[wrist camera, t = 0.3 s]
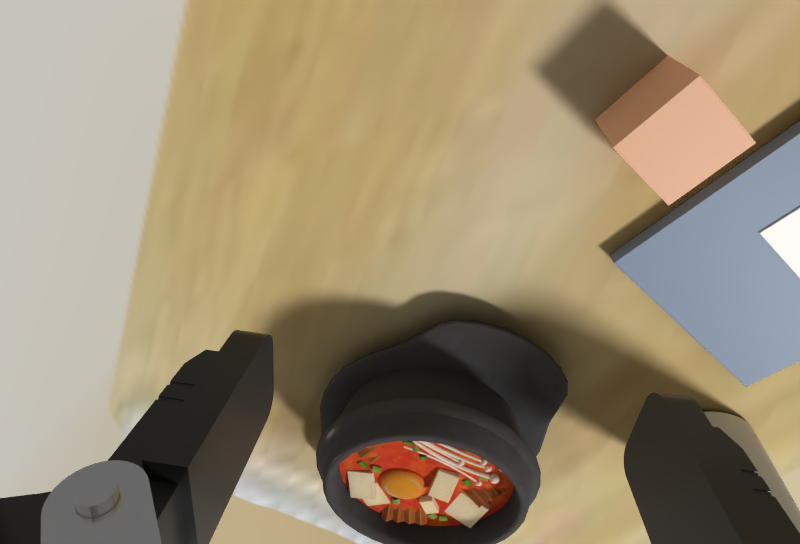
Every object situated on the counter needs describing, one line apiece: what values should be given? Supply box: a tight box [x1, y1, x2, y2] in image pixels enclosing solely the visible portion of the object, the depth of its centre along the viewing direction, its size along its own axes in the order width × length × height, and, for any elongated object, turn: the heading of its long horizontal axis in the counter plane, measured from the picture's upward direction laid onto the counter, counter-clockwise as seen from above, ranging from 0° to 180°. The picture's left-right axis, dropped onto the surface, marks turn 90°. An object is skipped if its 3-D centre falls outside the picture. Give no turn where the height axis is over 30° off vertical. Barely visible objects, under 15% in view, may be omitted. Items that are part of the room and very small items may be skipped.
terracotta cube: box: [595, 56, 756, 206], centre depth 26 cm, size 4×4×4 cm
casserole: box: [316, 319, 567, 544], centre depth 39 cm, size 25×19×8 cm
